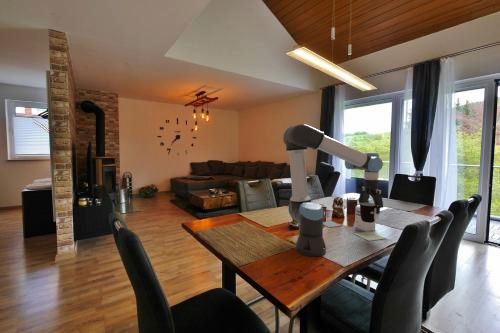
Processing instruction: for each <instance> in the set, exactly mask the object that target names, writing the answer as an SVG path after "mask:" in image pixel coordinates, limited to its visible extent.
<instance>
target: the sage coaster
mask: <svg viewBox="0 0 500 333" xmlns="http://www.w3.org/2000/svg"><path fill="white" fill-rule="evenodd" d="M353 235H355V236H357V237H358V238H361V239H363V240H365V241H367V242H374V241H380V240H386V237H383V236H381V235H379V234H377V233H374V232H372V231H363V232H355V233H353Z"/></svg>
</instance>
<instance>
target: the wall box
mask: <svg viewBox="0 0 500 333" xmlns="http://www.w3.org/2000/svg"><path fill="white" fill-rule="evenodd" d="M354 215H355V216H354V218H355V219H354V228H357V229H360V230H362V231H363V232H370V231H376V220H377V219H375V221H374V222H373V223H368V222H364V221H362V219H361V214H360V205H355V214H354Z"/></svg>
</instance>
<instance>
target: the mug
mask: <svg viewBox="0 0 500 333" xmlns="http://www.w3.org/2000/svg"><path fill="white" fill-rule="evenodd" d="M359 206H360V214H361V219H362V221H364V222H368V223H373V222H374V221H375V222H376V220H375V219H374V210H375V204H374V202H373V203H372V202H366V203H360V202H359Z"/></svg>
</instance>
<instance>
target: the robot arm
mask: <svg viewBox="0 0 500 333" xmlns="http://www.w3.org/2000/svg"><path fill="white" fill-rule="evenodd" d="M282 140H283V143H284V145H285V150H286V152H287V153H288V156H289V167H290V168H289V171H290V182H291V197H290V198H289V203H288V214H289V215H290V217H291V218H292V219H293V220H294V221H295V222H297V223H298V226H299V228H298V230H299V232H298V236H297V240H296V242H295V251H296V252H297V253H299V254H300V255H301V254H302V255H304V256H308V257H321V256H323V255H325V254H326V253H327V246H326V243H325V239H324V225H323V222H324V210H323V209H324V208H323V207H322V205H320V204H318V203H314V202H312V198H311V197H310V196H309V194H308V192H309V191H308V181H307V180H308V179H307V178H308V175H307V162H306V152H307V151H308V149H312V150H314V151H316V150H319V151H322V152H324V153H327V154H328V155H331V156H333V157H335V158H338V159H341V160H343V161H344V166H345V168H346V169H347V170H360V171H364V172H363V174H364V175H363V178H364V179H363V185H364V186H361V187H360V194H359V198H358V203H359V204H360V203H367V201H368V199H369V197H372V201H373V204H375V210H374V219H376V220H379V219H380V213H381V209H382V208H384V201H383V200H384V199H383V189H378V186H379V174H380V172H379V171H381V170H382V168H383V166H384V162H383V159H382V158H380V154H379V152H365V153H364V152H362V151H361V150H358V149H356V148H354V147H352V146H350V145H347V144H344V143H342V142H340V141H338V140H336V139H334V138H331V137H329V136H327V135H325V132H324V131H321V130H319V129H318V128H315V127H313V126H310V125H309V124H304V123H299V124H296V125H293V126H289V127H288V128H286V130H285V131H284V133H283V136H282Z"/></svg>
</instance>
